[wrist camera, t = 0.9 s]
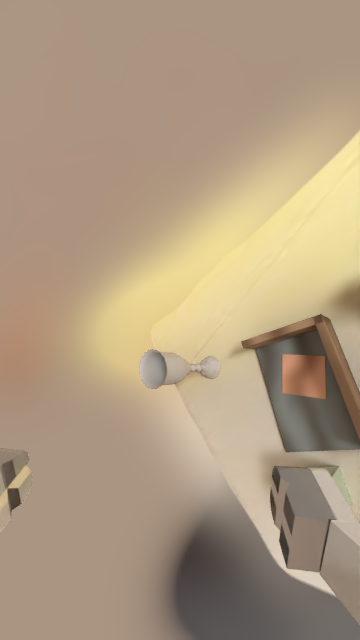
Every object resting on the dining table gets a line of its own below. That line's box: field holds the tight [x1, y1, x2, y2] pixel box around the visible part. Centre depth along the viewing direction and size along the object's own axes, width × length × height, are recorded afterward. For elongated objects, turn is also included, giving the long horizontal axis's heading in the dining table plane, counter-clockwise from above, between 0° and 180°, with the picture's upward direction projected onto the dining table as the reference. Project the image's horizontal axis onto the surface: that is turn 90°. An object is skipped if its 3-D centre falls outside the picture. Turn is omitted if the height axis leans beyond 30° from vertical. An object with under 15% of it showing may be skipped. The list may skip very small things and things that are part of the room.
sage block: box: [306, 467, 352, 507], centre depth 37 cm, size 5×5×9 cm
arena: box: [242, 314, 360, 452], centre depth 42 cm, size 14×20×6 cm
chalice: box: [139, 349, 220, 389], centre depth 51 cm, size 7×7×18 cm
